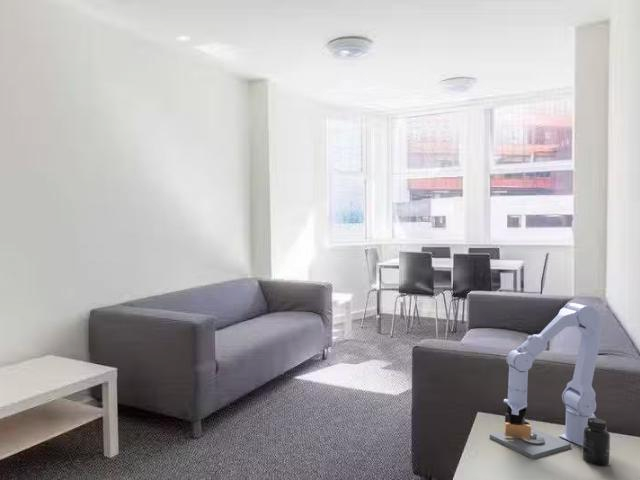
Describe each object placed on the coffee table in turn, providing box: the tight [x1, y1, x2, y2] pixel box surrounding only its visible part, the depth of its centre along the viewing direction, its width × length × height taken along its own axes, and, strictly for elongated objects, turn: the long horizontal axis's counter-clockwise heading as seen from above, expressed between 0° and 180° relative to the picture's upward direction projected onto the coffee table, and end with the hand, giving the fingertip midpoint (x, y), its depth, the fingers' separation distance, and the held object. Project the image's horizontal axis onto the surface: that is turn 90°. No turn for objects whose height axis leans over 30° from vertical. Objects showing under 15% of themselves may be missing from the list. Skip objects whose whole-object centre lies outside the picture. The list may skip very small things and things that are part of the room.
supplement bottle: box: [582, 417, 611, 467], centre depth 140 cm, size 7×7×12 cm
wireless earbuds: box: [504, 412, 531, 426], centre depth 167 cm, size 5×7×3 cm, turn 37°
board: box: [489, 426, 572, 460], centre depth 151 cm, size 18×16×2 cm
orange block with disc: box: [504, 422, 545, 444], centre depth 151 cm, size 12×7×4 cm, turn 80°
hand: (515, 430), depth 154 cm, fingers closed
